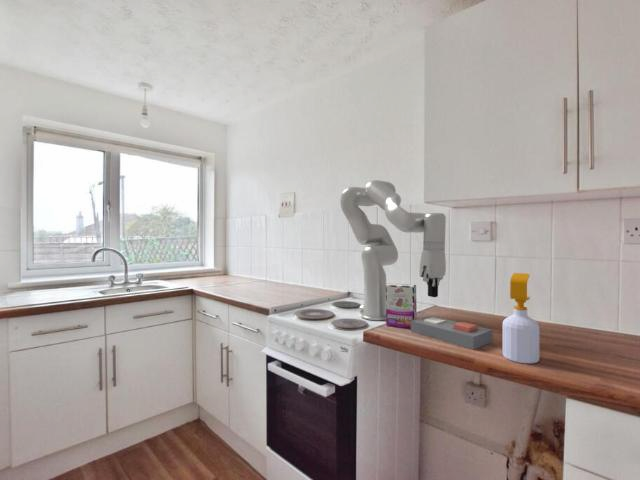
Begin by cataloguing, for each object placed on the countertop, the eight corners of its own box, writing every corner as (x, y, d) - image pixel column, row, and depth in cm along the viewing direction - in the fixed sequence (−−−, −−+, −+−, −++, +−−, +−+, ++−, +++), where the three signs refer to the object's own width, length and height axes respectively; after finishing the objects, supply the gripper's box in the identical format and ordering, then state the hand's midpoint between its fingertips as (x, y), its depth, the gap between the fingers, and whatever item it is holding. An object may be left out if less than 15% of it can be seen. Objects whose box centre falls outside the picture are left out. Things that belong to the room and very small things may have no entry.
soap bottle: (541, 357, 96) (541, 273, 95) (535, 367, 89) (536, 276, 89) (506, 350, 102) (506, 271, 101) (499, 358, 95) (499, 274, 95)
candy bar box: (417, 326, 129) (416, 284, 129) (414, 329, 125) (414, 286, 124) (389, 322, 134) (388, 282, 134) (385, 326, 130) (385, 284, 130)
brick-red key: (453, 330, 112) (453, 324, 112) (462, 328, 115) (462, 321, 115) (468, 334, 107) (468, 327, 107) (477, 331, 111) (477, 324, 111)
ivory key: (423, 325, 121) (423, 319, 121) (432, 323, 125) (432, 317, 125) (436, 329, 117) (436, 322, 117) (445, 326, 120) (445, 320, 120)
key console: (410, 331, 122) (410, 320, 122) (430, 325, 129) (430, 315, 129) (473, 349, 103) (473, 336, 103) (492, 341, 110) (492, 329, 110)
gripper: (437, 245, 128) (436, 292, 129) (412, 246, 119) (411, 297, 120) (454, 246, 122) (453, 295, 123) (430, 248, 113) (429, 301, 114)
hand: (432, 296), depth 121 cm, fingers closed
